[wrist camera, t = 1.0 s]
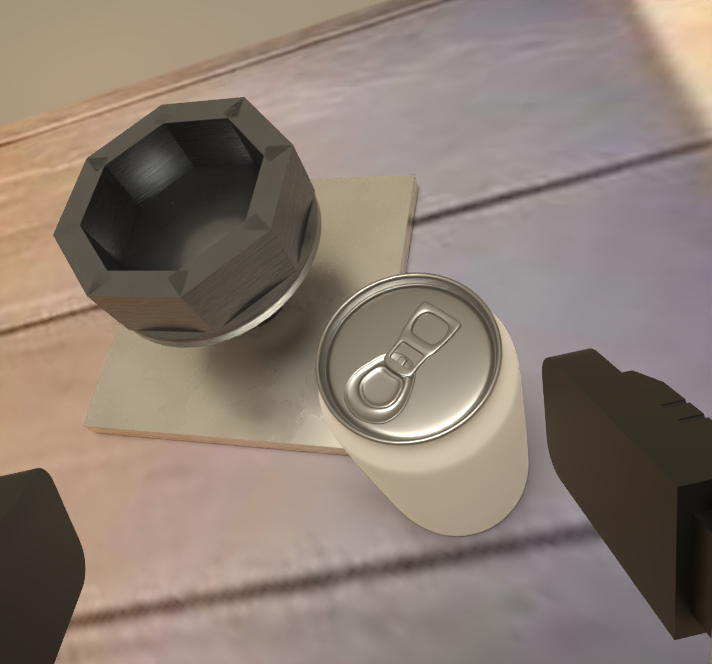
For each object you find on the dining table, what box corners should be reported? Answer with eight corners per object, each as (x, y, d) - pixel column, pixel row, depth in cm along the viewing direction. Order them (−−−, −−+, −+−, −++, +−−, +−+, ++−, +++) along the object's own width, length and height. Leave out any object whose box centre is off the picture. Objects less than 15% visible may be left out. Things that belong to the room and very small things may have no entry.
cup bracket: (177, 198, 42) (80, 73, 33) (418, 188, 37) (377, 39, 28) (96, 432, 35) (-54, 353, 26) (378, 458, 30) (308, 371, 21)
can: (358, 477, 30) (260, 376, 20) (443, 374, 31) (392, 229, 21) (469, 571, 27) (421, 509, 17) (559, 451, 28) (565, 325, 18)
